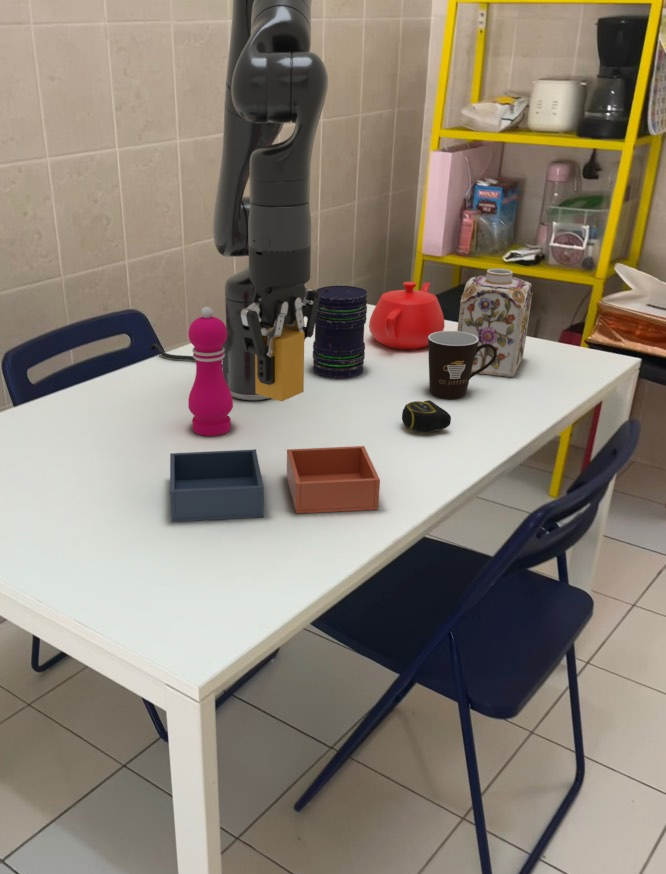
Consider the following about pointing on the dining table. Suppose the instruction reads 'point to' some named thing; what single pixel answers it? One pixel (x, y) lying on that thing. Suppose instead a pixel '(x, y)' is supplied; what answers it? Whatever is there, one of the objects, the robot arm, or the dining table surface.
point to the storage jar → (340, 332)
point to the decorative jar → (497, 319)
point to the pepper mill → (209, 377)
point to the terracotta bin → (332, 479)
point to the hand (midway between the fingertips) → (279, 377)
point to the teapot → (406, 317)
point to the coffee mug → (453, 362)
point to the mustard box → (285, 367)
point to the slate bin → (215, 485)
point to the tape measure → (425, 416)
